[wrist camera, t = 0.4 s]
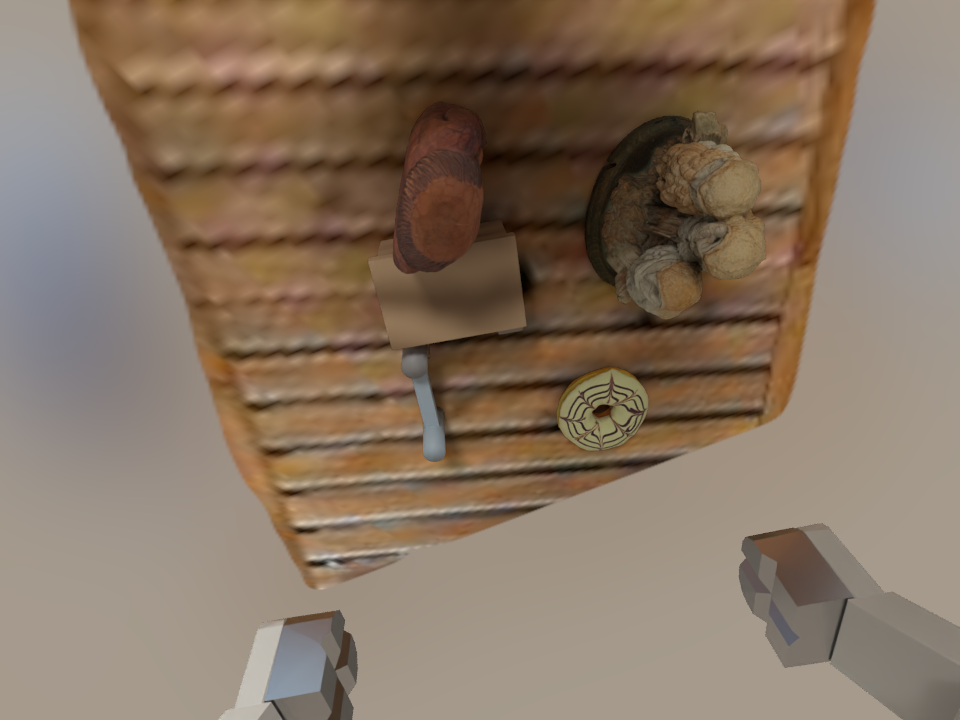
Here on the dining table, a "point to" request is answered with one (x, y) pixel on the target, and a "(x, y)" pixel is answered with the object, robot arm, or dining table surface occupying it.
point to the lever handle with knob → (425, 402)
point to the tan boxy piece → (452, 293)
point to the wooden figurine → (439, 190)
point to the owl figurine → (674, 214)
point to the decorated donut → (610, 425)
